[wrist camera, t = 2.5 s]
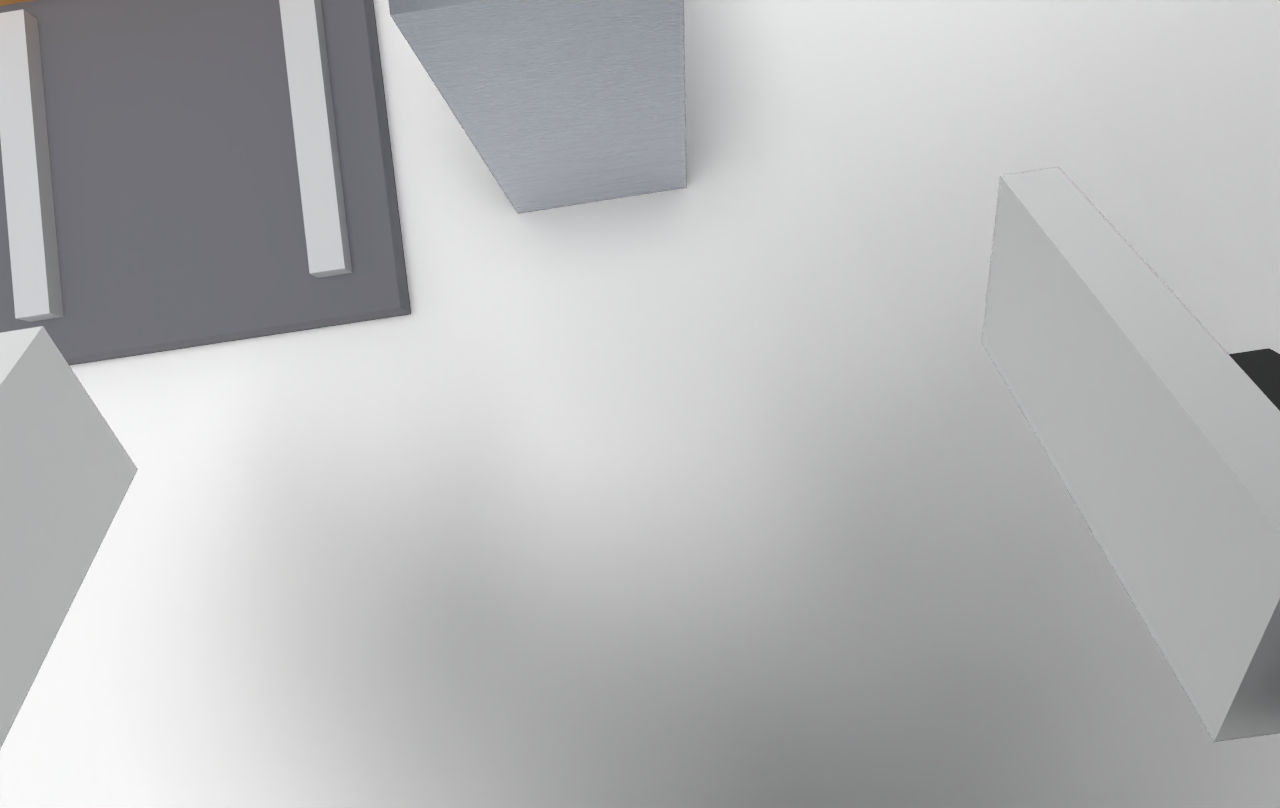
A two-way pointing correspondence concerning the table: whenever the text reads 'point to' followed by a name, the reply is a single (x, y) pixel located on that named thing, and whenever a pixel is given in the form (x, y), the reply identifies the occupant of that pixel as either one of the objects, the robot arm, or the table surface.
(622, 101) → the alu block
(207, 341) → the coupler dock
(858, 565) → the table surface
